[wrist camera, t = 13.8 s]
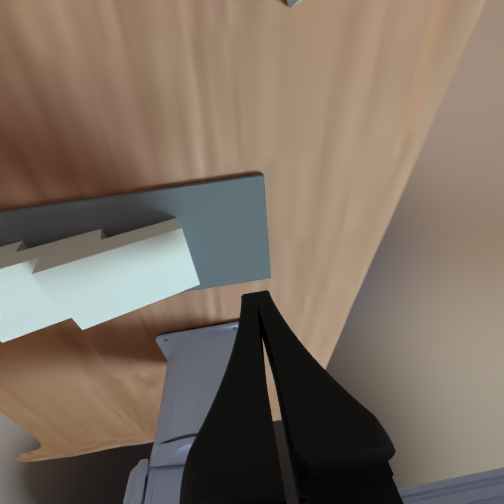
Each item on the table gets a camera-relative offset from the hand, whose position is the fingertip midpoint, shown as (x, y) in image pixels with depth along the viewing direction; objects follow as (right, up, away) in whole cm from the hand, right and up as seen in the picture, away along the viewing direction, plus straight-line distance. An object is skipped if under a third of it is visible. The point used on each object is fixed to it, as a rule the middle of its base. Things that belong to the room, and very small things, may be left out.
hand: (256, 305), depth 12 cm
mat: (-12, +2, +5) cm, 14 cm away
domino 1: (-10, +2, +4) cm, 11 cm away
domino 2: (-5, +3, +5) cm, 7 cm away
